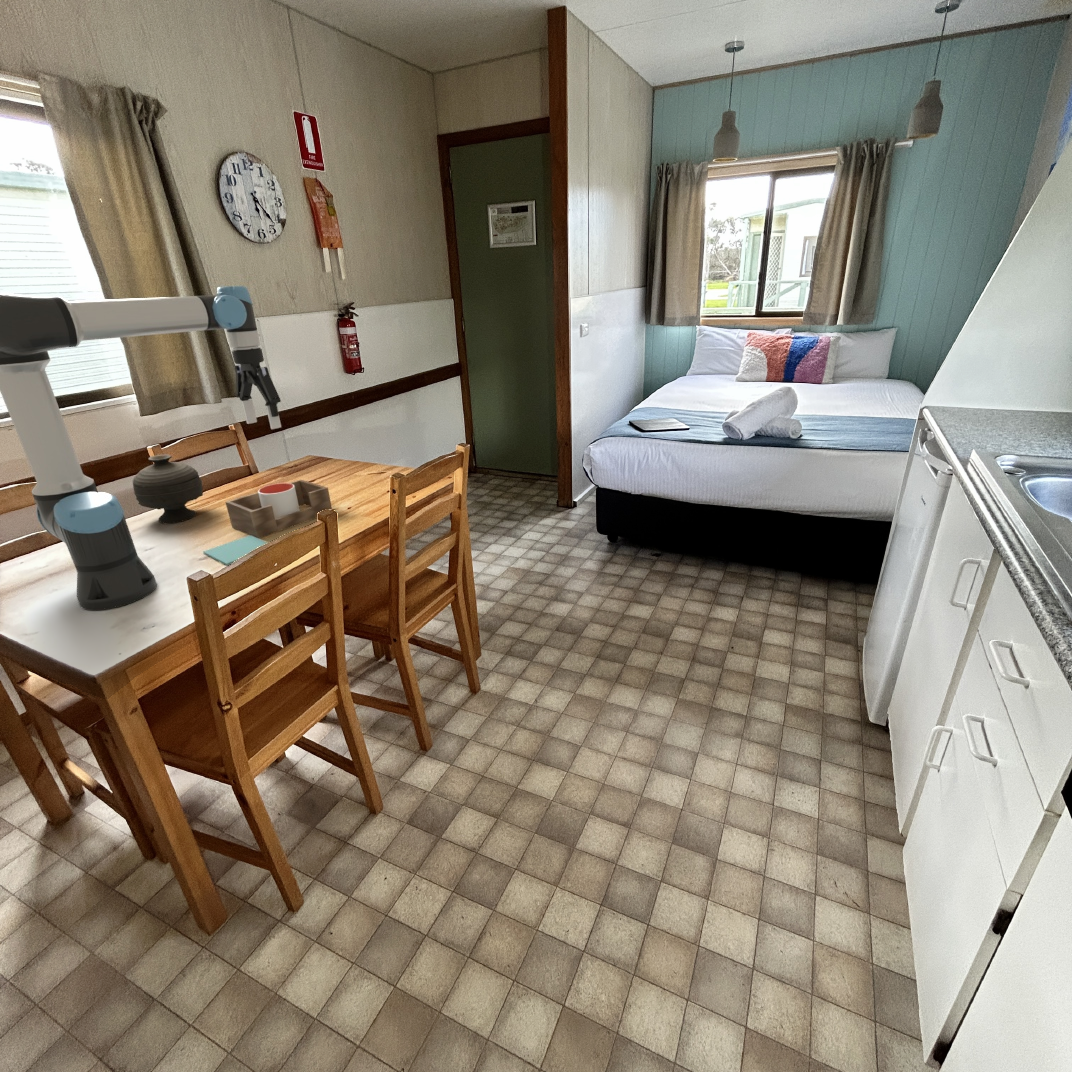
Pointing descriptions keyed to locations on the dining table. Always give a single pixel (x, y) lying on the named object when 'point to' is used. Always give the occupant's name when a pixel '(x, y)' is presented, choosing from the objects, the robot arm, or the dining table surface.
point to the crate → (262, 520)
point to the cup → (280, 498)
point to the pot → (168, 488)
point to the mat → (234, 549)
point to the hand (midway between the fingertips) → (263, 425)
